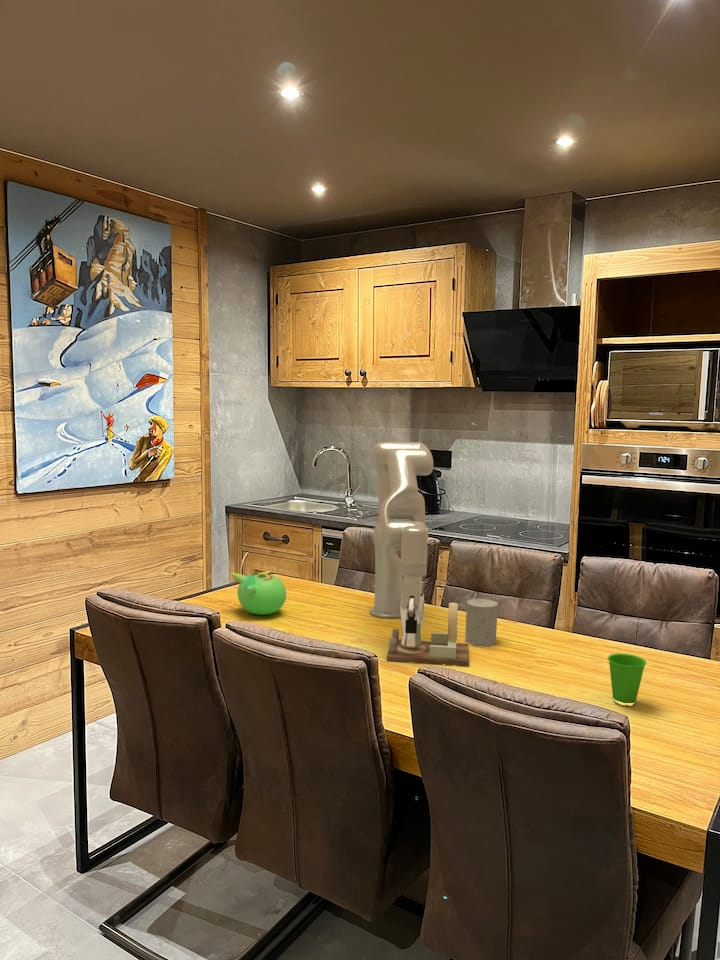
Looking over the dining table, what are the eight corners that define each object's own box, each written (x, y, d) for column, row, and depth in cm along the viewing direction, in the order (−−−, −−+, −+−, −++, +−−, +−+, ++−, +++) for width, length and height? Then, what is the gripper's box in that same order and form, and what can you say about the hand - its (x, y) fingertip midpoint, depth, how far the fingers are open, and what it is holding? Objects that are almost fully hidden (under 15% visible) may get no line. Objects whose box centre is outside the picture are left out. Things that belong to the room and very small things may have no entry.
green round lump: (294, 616, 246) (295, 574, 245) (249, 624, 237) (249, 580, 235) (270, 603, 261) (270, 563, 260) (226, 610, 252) (226, 568, 250)
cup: (599, 695, 185) (601, 653, 184) (633, 694, 186) (636, 653, 185) (614, 710, 176) (617, 666, 175) (650, 709, 177) (653, 666, 176)
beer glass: (421, 649, 209) (423, 598, 207) (397, 647, 210) (399, 596, 208) (424, 641, 215) (426, 591, 214) (401, 639, 217) (402, 590, 215)
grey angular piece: (431, 642, 218) (432, 596, 217) (456, 643, 217) (457, 598, 216) (429, 657, 205) (430, 608, 204) (456, 659, 204) (457, 610, 203)
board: (391, 643, 221) (391, 626, 220) (467, 648, 218) (468, 630, 217) (386, 661, 206) (387, 642, 206) (468, 666, 203) (469, 647, 203)
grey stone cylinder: (499, 639, 227) (501, 600, 226) (491, 648, 219) (493, 608, 217) (470, 634, 231) (471, 596, 230) (461, 643, 223) (462, 604, 221)
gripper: (402, 561, 219) (401, 619, 221) (398, 575, 202) (396, 638, 204) (427, 562, 218) (425, 620, 220) (425, 576, 201) (423, 639, 203)
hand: (411, 628), depth 212 cm, fingers closed on beer glass, 6 cm apart
